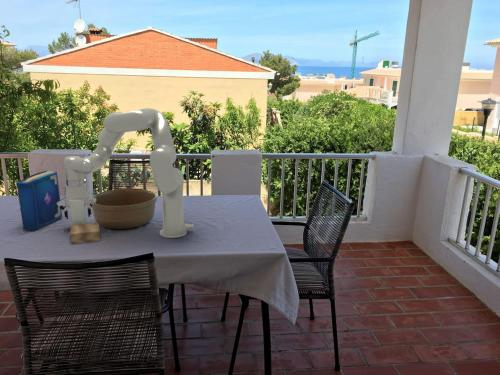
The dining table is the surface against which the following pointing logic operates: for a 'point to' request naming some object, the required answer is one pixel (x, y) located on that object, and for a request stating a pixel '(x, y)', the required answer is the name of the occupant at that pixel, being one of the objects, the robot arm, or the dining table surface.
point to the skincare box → (77, 211)
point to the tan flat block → (85, 233)
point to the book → (39, 200)
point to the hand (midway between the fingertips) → (78, 217)
